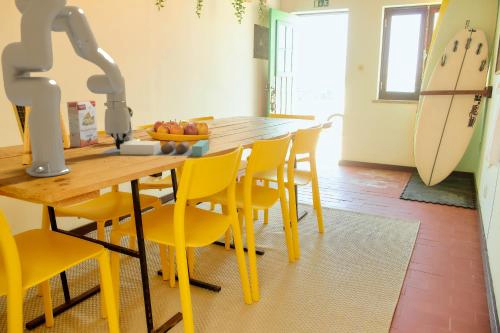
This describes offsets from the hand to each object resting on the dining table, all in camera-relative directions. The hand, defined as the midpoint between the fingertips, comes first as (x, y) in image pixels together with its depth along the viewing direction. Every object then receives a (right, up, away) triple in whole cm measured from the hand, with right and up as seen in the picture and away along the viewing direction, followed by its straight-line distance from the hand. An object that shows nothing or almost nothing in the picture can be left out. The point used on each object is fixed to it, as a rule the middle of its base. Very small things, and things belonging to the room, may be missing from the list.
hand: (120, 148), depth 165 cm
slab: (+9, -1, 0) cm, 9 cm away
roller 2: (+29, +1, -1) cm, 29 cm away
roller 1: (+22, -1, 0) cm, 22 cm away
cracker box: (-24, +3, +21) cm, 32 cm away
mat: (+15, -2, +1) cm, 15 cm away
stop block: (+35, -2, -1) cm, 35 cm away
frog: (-5, +4, +26) cm, 27 cm away
